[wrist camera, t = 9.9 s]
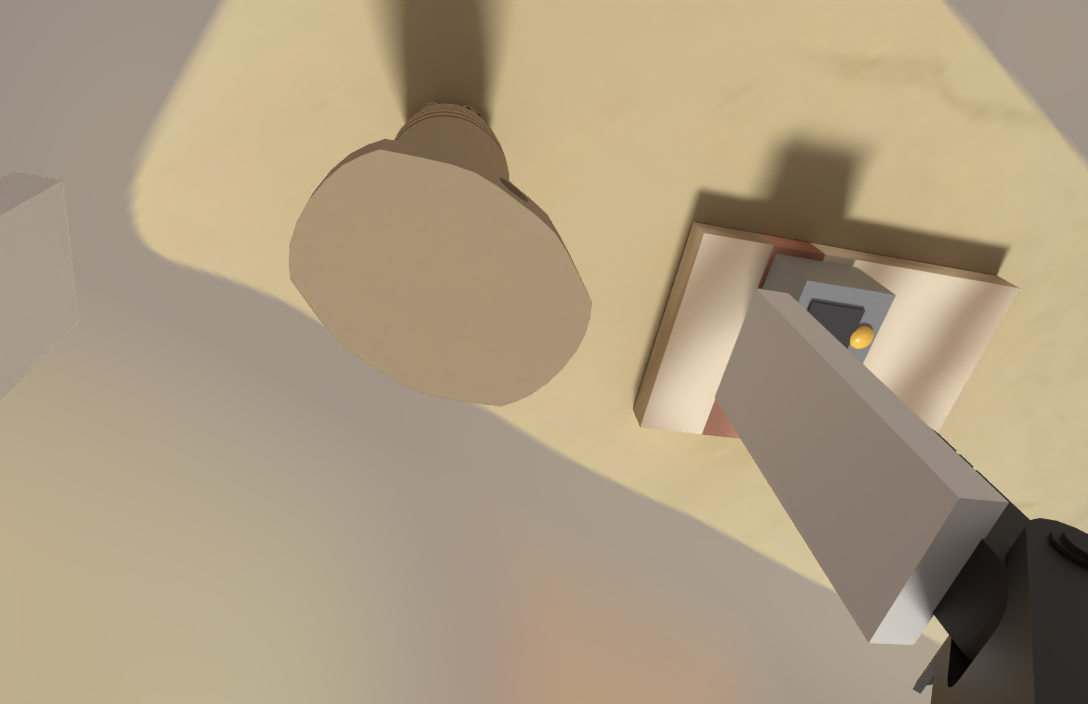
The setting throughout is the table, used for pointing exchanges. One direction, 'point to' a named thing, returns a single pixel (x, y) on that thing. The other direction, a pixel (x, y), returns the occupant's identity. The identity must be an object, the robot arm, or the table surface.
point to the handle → (440, 264)
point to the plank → (894, 358)
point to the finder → (834, 298)
